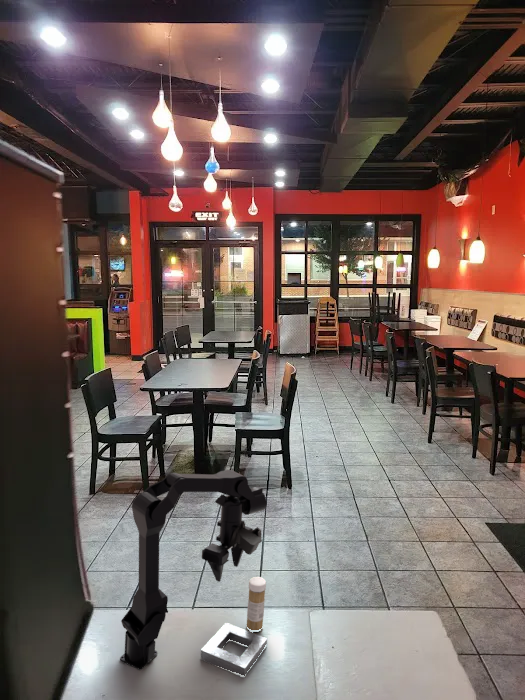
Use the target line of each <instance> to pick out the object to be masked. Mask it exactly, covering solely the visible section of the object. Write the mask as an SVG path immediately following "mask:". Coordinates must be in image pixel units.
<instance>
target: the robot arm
mask: <svg viewBox="0 0 525 700" xmlns="http://www.w3.org/2000/svg"><path fill="white" fill-rule="evenodd" d="M263 491H264V489H263V487H260V486H258V485H257V486H253V487H252V488H251V487H250V486H249V480H248V478H247V476H245V475H242V474H241V473H238V472H236V471H234V470H231V469H227V470H221V471H218V472H217V473H214V474H209V473H208V474H207V473H206V474H205V473H203V474H201V473H177V472H169V474H167V475H166V476H165V477H164V478H163V479H161V480H159V481H157V482H155V483H154V484H151V485H150V486H148V487H147V488H146V489H145V490H143V492H141V493H139V494H137V496H136V497H135V498H134V499H133V500H132V504H131V509H132V516H133V521H134V523H135V525H136V528H137V531H138V588H137V590H136V592H135V593H134V596H133V597H132V602H131V607H130V608H129V610H128V611H127V612H126V614H125V615H124V616H123V618H122V619H121V621H120V622H121V625H122V627H123V628H124V630H126V631H125V635H124V636H125V637H124V639H125V640H124V653H123V654H122V655H121V656H120V657H119V660H120V661H121V662H123V663H125V664H127V665H129V666H131V667H133V668H134V669H137V670H142V669H144V668H145V667H146V666H147V665H148V664H149V662H151V661H152V660H153V659H154V658H155V657H156V656H157V655H158V651H157V650H156V640H157V639H158V637H159V634H160V631H161V629H162V625H163V623H164V622H165V620H166V615H167V614H168V613H169V610H168V602H169V601H168V600H169V598H168V595H166V593H164V592H163V591H162V590H161V589H160V534H161V533H160V532H161V531H162V529H163V528H164V526H165V525H166V519H167V515H168V514H169V513H170V512H171V511H172V510H173V509H174V508H175V506H176V505H177V503H178V500H179V498H180V497H181V496H182V494H183V493H221V494H220V496H218V497H217V498H216V499H215V501H214V503H215V504H217V505H219V506H221V507H220V508H221V511H220V520H218V521H217V522H216V523H217V524H216V526H217V527H219V535H217V536H215V540H216V541H217V542H219V543H220V544H219V545H218V544H216V543H213V542H212V543H210V544H209V545H208V546H206V547H205V548H204V549H202V550H201V559H202V560H204V561H206V562H207V563H208V565H209V567H210V569H211V571H212V574H213V576H214V578H215V580H216V581H217V582H218V583H220V582H221V579H222V576H223V570H224V567H225V566H224V565H225V564H227V563H228V562H229V557H230V550H231V558H232V563H233V566H234V567H235V568H237V567H239V564H240V561H241V559H242V556H243V554H244V553H245V554H247V555H252V554H253V553H254V552H255V551H257V549H258V547H259V544H260V543H262V541H263V539H262V538H263V537H262V529H261V528H260V527H256V528H254V529H253V528H252V527H249V526H246V523H245V520H243V515H245V516H248V515H251V514H255V513H259V512H263V511H264V510H266V508H267V505H268V502H267V499H266V496H265V494H264V492H263ZM166 493H167V494H166ZM164 494H166V495H165V497H164V498H163V499H162V500H161V499H160V498H158V497H160V496H162V495H164Z"/></svg>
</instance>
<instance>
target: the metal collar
mask: <svg viewBox="0 0 525 700" xmlns="http://www.w3.org/2000/svg"><path fill="white" fill-rule="evenodd" d="M229 639H230V640H233V641H236V642H239V643H241V644H244V645H247V646H248V648H245V650H244V652H243V653H242V654H241V656H239V655H236V654H234V653H232V652H230V651H227V650H225V649H224V648H223V646H224V645H225V644H226V642H227V641H228V640H229ZM266 644H267V645H268V638H267V637H265V636H261V635H259V634H258V633H252V632H249V631H248V630H247V629H243V628H241V627H239V626H236V625H234V624H231V623H228V622H225V623H224V624H223V625H222V627H221V626H220V628H219V630H218V631H217V632H216V633H215V634H214V635H213V636H212V637H211V638H210V639H209V640H208V641H207V643H206V644H205V645H204V646H203V647H202V648H201V649H200V660H201V661H203V662H205V663H208V664H211V665H212V664H213V665H212V666H214V665H216V666H215V667H217V666H219V667H222V668H224V669H227V670H230V671H232V672H236V673H239V674H241V675H244V676H245V674H246V673H247V671H248V670H249V669H250V667H251V666H252V665H253V663H254V662H255V661H256V659H257V658H258V656H259V655H260V653H261V652H262V650H263V649H264V647H265V645H266ZM226 645H227V644H226ZM226 645H225V646H226ZM222 648H223V649H222ZM219 667H218V668H219ZM224 669H223V670H224Z"/></svg>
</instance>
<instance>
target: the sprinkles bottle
mask: <svg viewBox="0 0 525 700" xmlns="http://www.w3.org/2000/svg"><path fill="white" fill-rule="evenodd" d="M266 588H267V581H266V579H265V578H263V577H261V576H253V577H251V578H250V579H249V580H248V589H249V590H248V599H247V601H248V602H247V615H246V625H247V627H248V628H249V629H251V630H259V629H261V628H262V626H263V627H264V625H263V622H264V615H265V614H264V613H265V603H266V601H265V597H266V596H265V594H266Z"/></svg>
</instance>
